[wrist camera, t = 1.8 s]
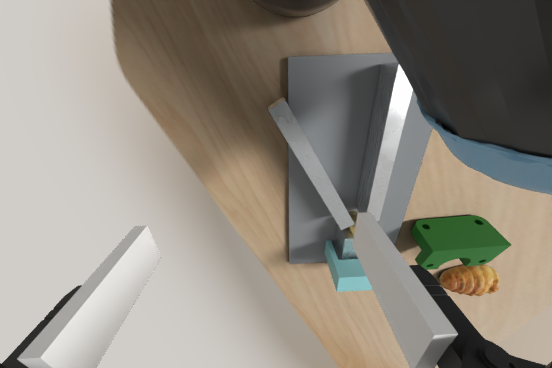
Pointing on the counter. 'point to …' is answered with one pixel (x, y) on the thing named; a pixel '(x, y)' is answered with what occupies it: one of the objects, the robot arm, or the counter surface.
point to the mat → (344, 146)
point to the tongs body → (378, 150)
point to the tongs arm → (309, 161)
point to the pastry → (470, 280)
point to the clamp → (457, 241)
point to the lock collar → (346, 272)
